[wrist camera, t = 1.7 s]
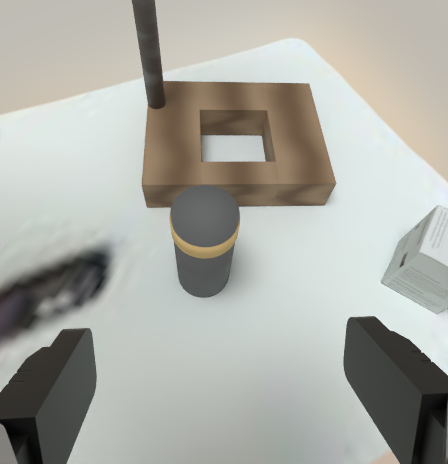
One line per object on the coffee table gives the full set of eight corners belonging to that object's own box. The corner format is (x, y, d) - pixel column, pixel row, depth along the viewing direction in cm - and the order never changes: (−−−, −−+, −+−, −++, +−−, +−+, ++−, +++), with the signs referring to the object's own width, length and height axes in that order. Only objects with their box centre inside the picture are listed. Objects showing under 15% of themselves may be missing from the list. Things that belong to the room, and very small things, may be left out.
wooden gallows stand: (146, 207, 38) (2, -416, 10) (153, 107, 46) (82, -397, 18) (324, 205, 40) (619, -339, 12) (301, 108, 48) (444, -353, 20)
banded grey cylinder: (177, 299, 33) (168, 244, 24) (177, 250, 36) (169, 184, 26) (231, 297, 34) (243, 243, 24) (227, 249, 36) (238, 183, 27)
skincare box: (398, 240, 38) (437, 202, 32) (452, 269, 37) (505, 235, 30) (379, 283, 35) (418, 251, 29) (437, 316, 34) (492, 289, 28)
